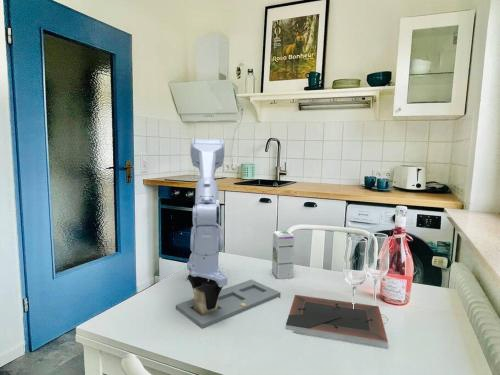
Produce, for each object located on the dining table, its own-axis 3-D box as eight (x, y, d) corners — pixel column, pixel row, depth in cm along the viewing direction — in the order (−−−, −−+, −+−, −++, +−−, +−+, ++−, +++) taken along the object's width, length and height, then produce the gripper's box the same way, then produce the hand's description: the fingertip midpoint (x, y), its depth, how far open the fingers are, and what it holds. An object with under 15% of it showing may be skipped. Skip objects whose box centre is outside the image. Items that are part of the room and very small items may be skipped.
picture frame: (285, 334, 74) (387, 351, 68) (285, 323, 73) (387, 340, 68) (294, 302, 90) (377, 314, 84) (295, 293, 89) (378, 305, 84)
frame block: (193, 311, 81) (193, 287, 80) (208, 305, 84) (208, 283, 83) (202, 317, 78) (202, 293, 77) (217, 311, 81) (218, 288, 80)
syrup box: (293, 278, 105) (295, 234, 103) (276, 279, 104) (277, 235, 102) (287, 271, 111) (289, 230, 109) (271, 272, 109) (272, 230, 108)
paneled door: (175, 311, 82) (175, 303, 82) (251, 284, 99) (251, 278, 99) (202, 331, 73) (202, 323, 73) (280, 298, 90) (280, 291, 90)
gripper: (176, 248, 82) (176, 299, 83) (210, 263, 71) (209, 322, 72) (200, 243, 86) (199, 291, 88) (234, 257, 76) (233, 312, 77)
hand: (205, 305), depth 80 cm, fingers closed on frame block, 4 cm apart
